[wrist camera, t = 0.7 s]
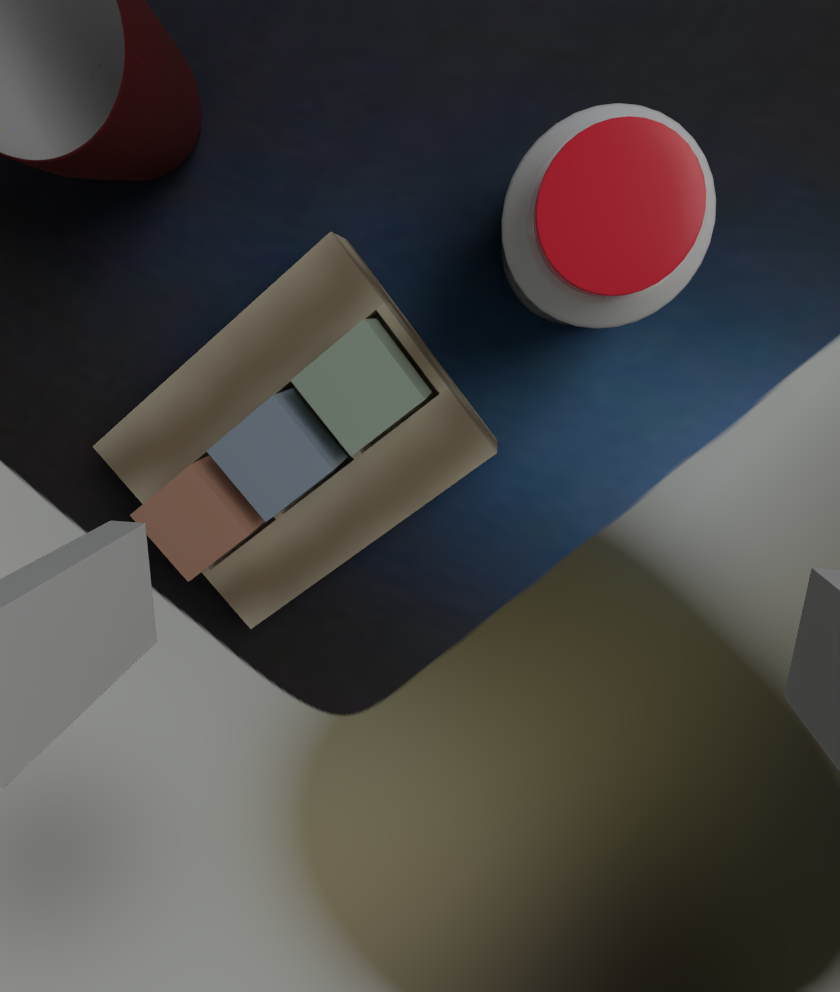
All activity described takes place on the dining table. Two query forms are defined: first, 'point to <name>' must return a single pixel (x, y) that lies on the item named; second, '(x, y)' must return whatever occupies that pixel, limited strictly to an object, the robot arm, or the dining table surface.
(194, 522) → the tile terracotta
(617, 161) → the pill bottle
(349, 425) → the tile sage
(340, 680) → the dining table surface
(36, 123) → the mug
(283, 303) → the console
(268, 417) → the tile slate
